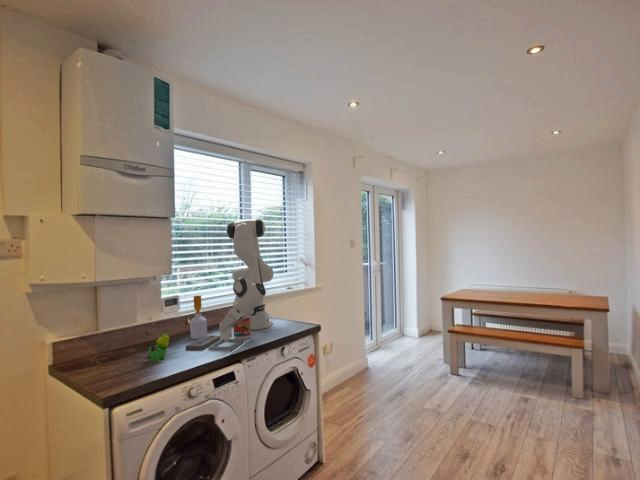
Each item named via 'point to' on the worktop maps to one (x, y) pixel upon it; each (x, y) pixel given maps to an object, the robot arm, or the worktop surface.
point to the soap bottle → (198, 321)
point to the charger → (226, 334)
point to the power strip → (203, 342)
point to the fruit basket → (159, 348)
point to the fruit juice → (242, 326)
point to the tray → (213, 347)
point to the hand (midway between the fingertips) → (224, 330)
